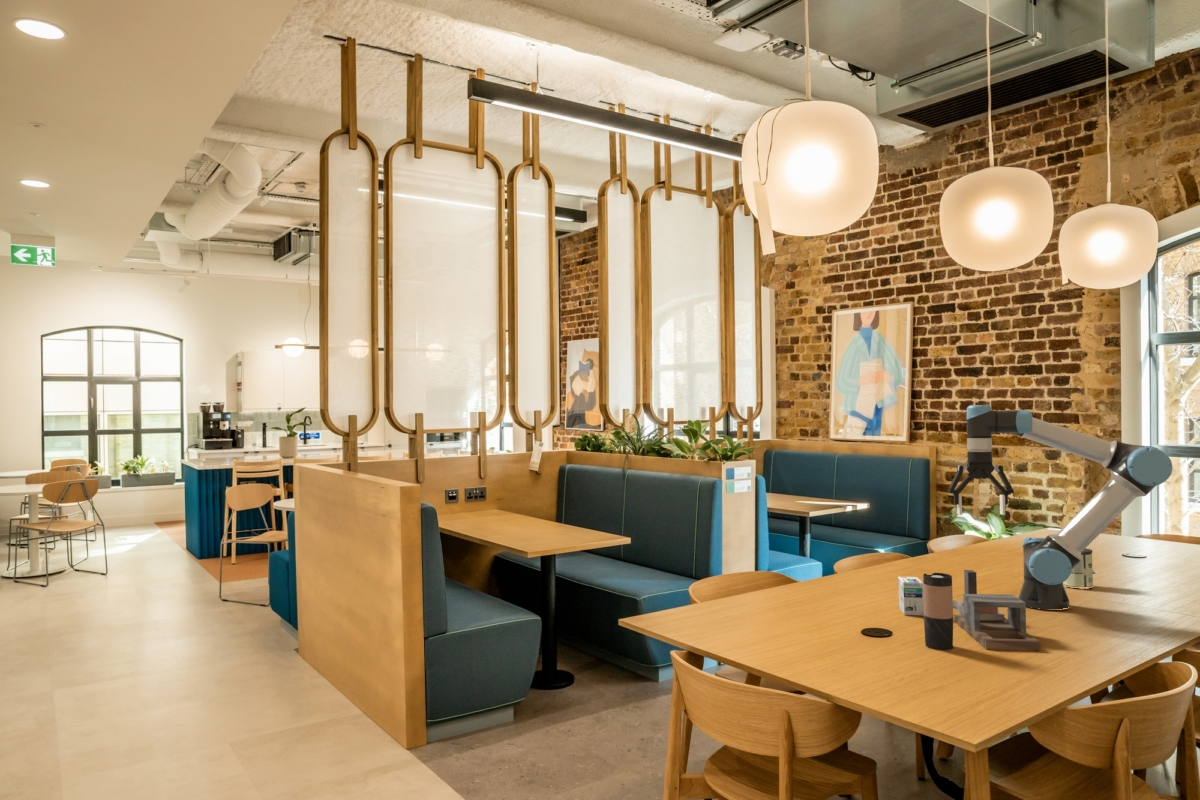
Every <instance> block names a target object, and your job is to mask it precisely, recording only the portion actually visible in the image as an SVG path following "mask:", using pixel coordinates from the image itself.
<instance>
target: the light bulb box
mask: <svg viewBox="0 0 1200 800" xmlns="http://www.w3.org/2000/svg"><path fill="white" fill-rule="evenodd" d="M897 580H898V581H897V582H898V583H897V584H898V608H899V610H900V611H901V613H903V615H904V616H920V617H924V593H923V580H921V579H920V578H919V577H918V576H902V575H901V576H898V577H897Z"/></svg>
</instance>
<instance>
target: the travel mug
mask: <svg viewBox="0 0 1200 800" xmlns="http://www.w3.org/2000/svg"><path fill="white" fill-rule="evenodd" d="M922 578H923V579H922V582H923V593H924V616H923V626H924V641H925V643H924V644H925V647H927V648H929V649H933V650H938V651H949V650H952V649H953V647H954V646H953V645H954V607H953V601H954V599H953V597H954V596H953V576H952V575H951V574H949V573H943V572H933V573H932V574H928V573H925V572H924V573H923V577H922Z"/></svg>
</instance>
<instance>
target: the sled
mask: <svg viewBox="0 0 1200 800" xmlns="http://www.w3.org/2000/svg"><path fill="white" fill-rule="evenodd" d="M963 578H964V579H963V580H964V594H978V591H977V587H978V586H977V572H976V571H975V570H973V569H963ZM953 609H955V611H957V612H959V614H962V615H964V604H963V600H953ZM1004 617H1005V614H1004V612H1002V611H1000V610H999V609H998V613H980V620H984V621H1004Z"/></svg>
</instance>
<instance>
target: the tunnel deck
mask: <svg viewBox="0 0 1200 800" xmlns="http://www.w3.org/2000/svg"><path fill="white" fill-rule="evenodd" d="M962 595H963V596H962V598H963V599H962V601H963V604H964V615H962V614H961V613H953V623H954V624H956V623H957V624H958V625H959V626H958V625H957V624H956V625H957V626H958V627H959V628H961V629H962V630H963V629H964V630H965V631H966V632H967V633H966V632H965V631H964V630H963V631H964V632H965V633H966V634H967V635H969V637H971V636H972V637H973V638H974V639H973V638H972V637H971V638H972V639H973V640H974V641H976V642H977V643H978V642H979V643H978V644H979V645H980V644H981V645H980V646H981V647H983V649H985V650H992V649H994V650H996V651H997V650H998V651H999V650H1000V651H1026V650H1040V651H1041V643H1040V640H1038V639H1036V638H1035V637H1034V636H1032V635H1030V634H1029V633H1028V632H1027V614H1026V612H1027V607H1026V603H1025V602H1024V601H1022V600H1020V599H1019V597H1017V596H1016V595H1014V594H994V593H993V594H991V593H990V594H988V593H986V594H983V593H982V594H981V593H977V594H965V593H963V594H962ZM980 607H998V608H1007V617H1005V616H1004V621H980Z"/></svg>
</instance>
